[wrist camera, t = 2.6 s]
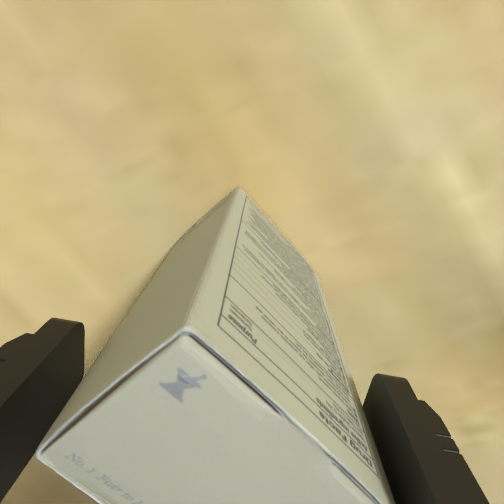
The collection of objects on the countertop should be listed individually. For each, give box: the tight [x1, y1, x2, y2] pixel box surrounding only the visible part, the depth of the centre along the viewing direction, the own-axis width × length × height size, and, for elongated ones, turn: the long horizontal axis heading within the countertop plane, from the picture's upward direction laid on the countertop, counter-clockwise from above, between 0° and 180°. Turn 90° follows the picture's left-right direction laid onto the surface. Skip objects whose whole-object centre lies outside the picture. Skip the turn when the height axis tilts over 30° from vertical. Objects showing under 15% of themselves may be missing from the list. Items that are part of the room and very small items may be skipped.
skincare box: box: [36, 187, 395, 504], centre depth 13 cm, size 6×4×12 cm
